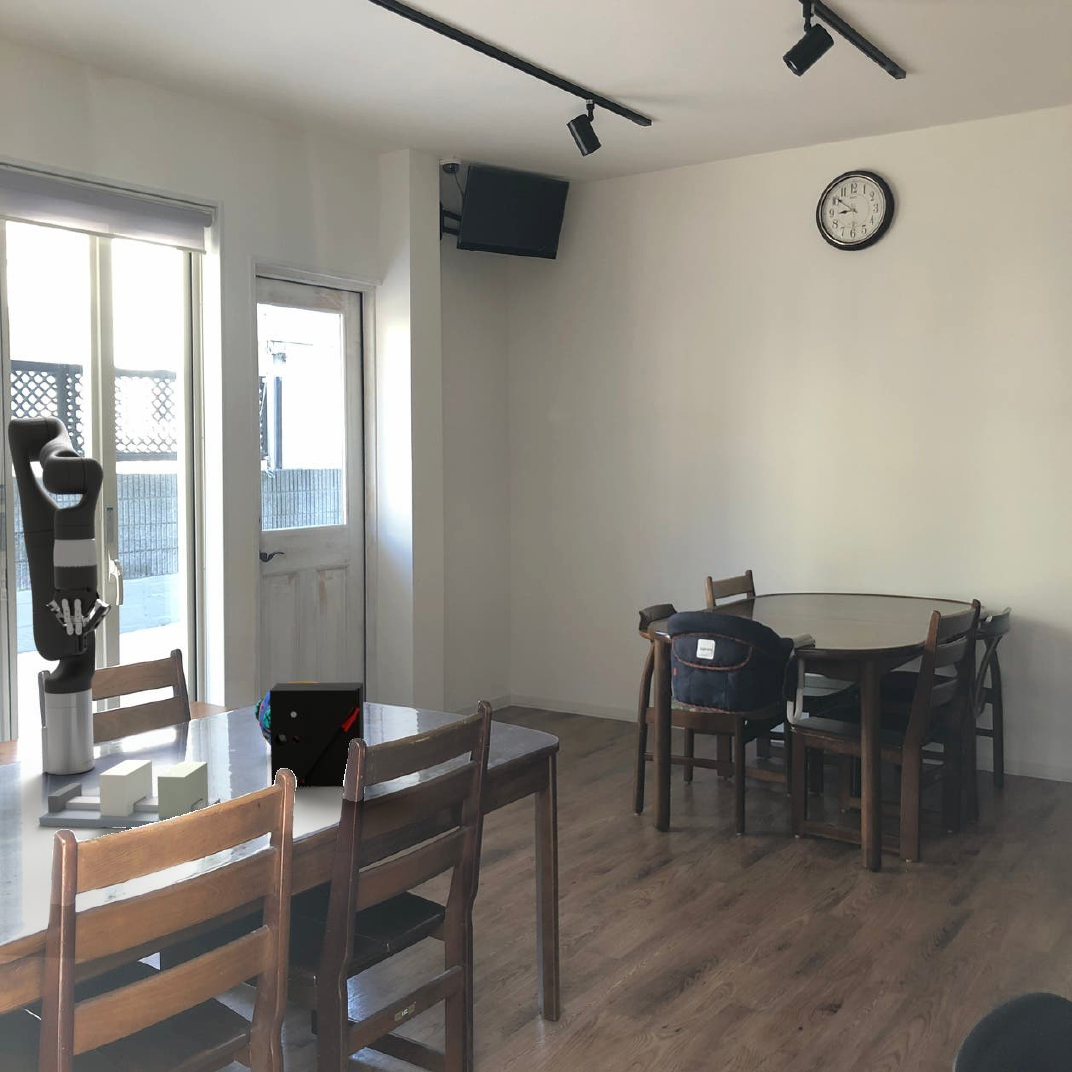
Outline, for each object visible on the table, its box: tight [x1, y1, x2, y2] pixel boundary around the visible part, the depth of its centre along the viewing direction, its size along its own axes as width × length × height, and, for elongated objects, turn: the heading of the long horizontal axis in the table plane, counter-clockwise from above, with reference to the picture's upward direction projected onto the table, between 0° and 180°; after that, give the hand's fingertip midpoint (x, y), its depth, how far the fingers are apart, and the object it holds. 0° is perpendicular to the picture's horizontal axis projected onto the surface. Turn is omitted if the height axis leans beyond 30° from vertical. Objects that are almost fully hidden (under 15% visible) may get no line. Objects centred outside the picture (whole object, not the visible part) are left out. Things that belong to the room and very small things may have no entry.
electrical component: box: [269, 681, 365, 789], centre depth 218 cm, size 18×10×20 cm, turn 92°
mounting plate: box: [38, 760, 221, 829], centre depth 197 cm, size 28×14×9 cm, turn 84°
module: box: [98, 759, 154, 816], centre depth 198 cm, size 5×10×8 cm, turn 173°
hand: (78, 653), depth 203 cm, fingers closed
